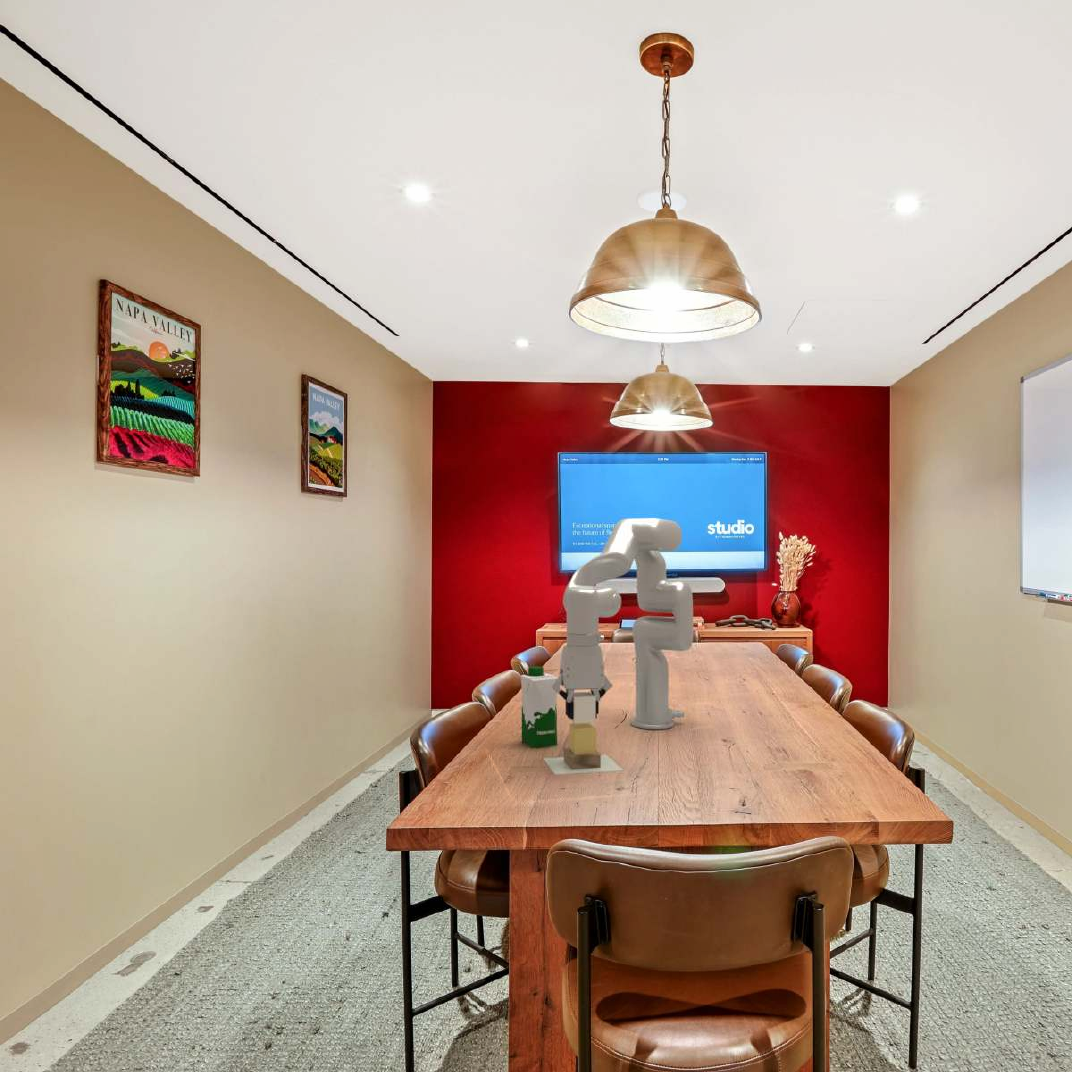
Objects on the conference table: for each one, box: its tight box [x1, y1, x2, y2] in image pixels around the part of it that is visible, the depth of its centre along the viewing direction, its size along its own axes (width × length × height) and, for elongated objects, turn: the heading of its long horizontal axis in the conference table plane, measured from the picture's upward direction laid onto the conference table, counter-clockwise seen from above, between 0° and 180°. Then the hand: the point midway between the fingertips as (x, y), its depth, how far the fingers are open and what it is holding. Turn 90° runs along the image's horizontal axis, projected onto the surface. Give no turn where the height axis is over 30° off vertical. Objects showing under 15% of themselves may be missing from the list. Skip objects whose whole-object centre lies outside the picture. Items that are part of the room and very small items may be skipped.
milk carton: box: [520, 665, 558, 749], centre depth 180 cm, size 9×9×20 cm
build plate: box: [543, 754, 623, 776], centre depth 163 cm, size 16×12×1 cm
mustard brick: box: [568, 722, 597, 755], centre depth 163 cm, size 5×5×6 cm
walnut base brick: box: [563, 747, 602, 770], centre depth 163 cm, size 7×7×3 cm
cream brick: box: [571, 691, 596, 723], centre depth 163 cm, size 5×5×6 cm
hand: (582, 716), depth 163 cm, fingers closed on cream brick, 5 cm apart
